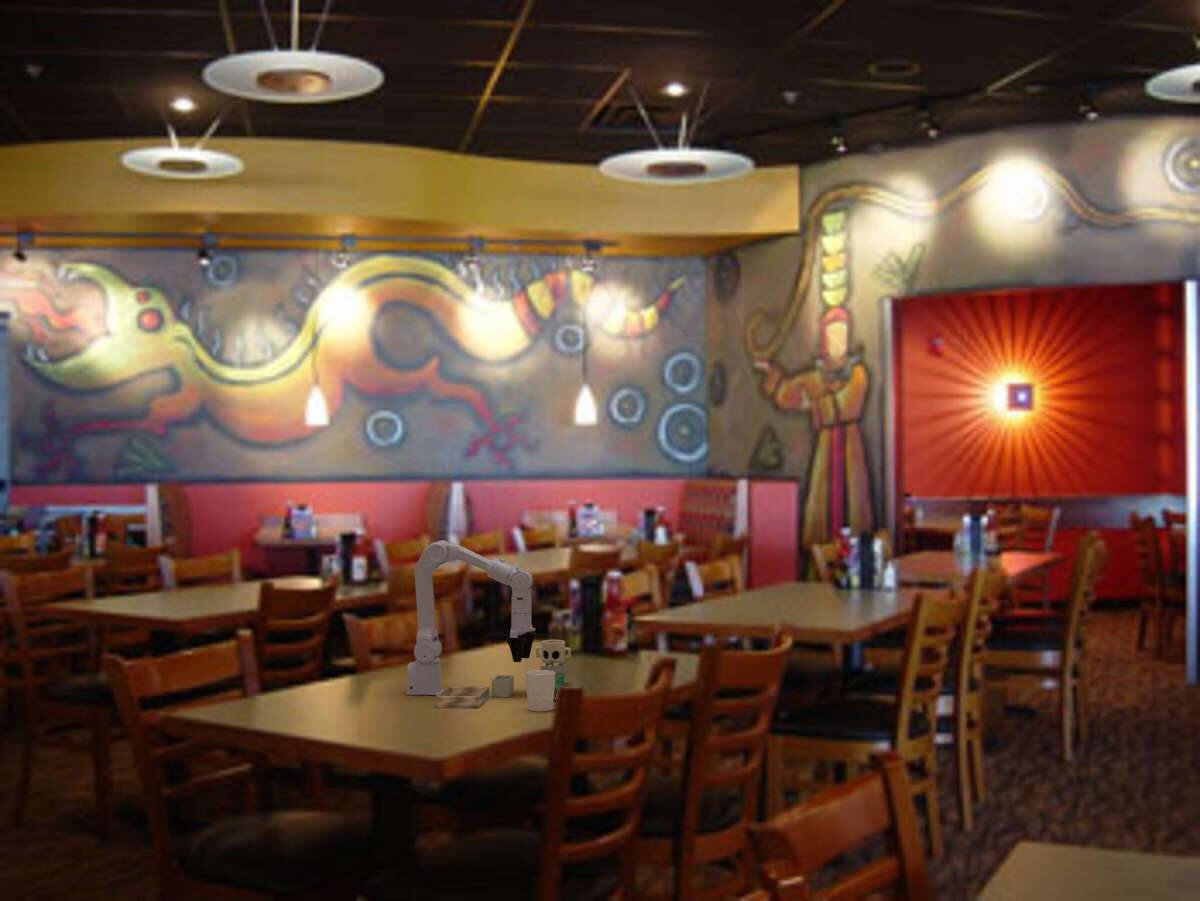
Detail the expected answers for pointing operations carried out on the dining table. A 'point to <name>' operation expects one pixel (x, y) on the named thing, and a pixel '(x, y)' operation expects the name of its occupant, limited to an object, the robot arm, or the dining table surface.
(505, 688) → the small crate
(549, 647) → the character mug
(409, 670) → the robot arm
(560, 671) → the food container
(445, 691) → the big crate
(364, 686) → the dining table surface
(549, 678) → the white cup
